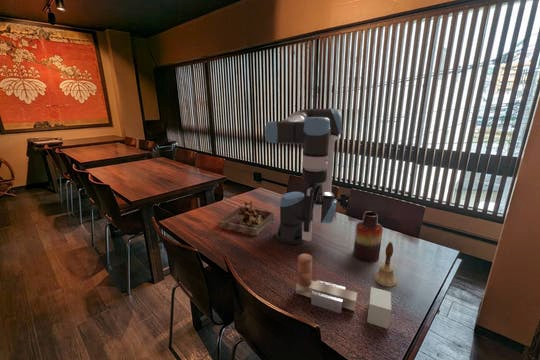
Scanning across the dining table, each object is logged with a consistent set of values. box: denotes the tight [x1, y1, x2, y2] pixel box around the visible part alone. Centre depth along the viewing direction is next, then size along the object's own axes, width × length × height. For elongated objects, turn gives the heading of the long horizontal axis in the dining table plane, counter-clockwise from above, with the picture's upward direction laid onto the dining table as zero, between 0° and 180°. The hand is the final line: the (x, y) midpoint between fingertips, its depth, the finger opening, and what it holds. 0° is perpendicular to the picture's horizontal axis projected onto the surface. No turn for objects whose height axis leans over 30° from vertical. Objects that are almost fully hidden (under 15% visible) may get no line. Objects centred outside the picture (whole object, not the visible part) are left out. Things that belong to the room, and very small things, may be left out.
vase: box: [353, 211, 384, 263], centre depth 110 cm, size 11×11×20 cm
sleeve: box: [310, 279, 346, 314], centre depth 87 cm, size 10×7×5 cm
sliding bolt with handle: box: [295, 253, 358, 312], centre depth 85 cm, size 20×5×14 cm, turn 66°
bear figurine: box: [238, 201, 263, 228], centre depth 142 cm, size 14×15×12 cm
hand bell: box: [373, 241, 398, 288], centre depth 95 cm, size 8×8×16 cm
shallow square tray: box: [218, 205, 275, 237], centre depth 144 cm, size 23×23×4 cm
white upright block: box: [366, 286, 392, 330], centre depth 80 cm, size 6×8×7 cm
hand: (311, 230), depth 84 cm, fingers open, 13 cm apart
